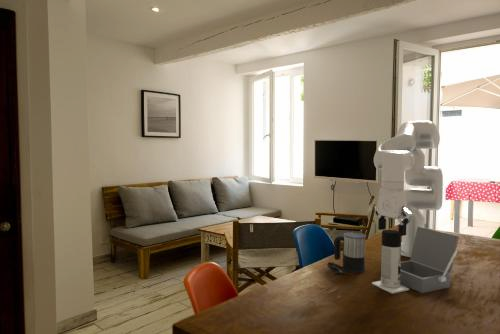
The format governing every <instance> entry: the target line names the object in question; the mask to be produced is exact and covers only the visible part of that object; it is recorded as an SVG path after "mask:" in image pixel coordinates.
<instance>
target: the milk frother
mask: <svg viewBox="0 0 500 334" xmlns="http://www.w3.org/2000/svg"><path fill="white" fill-rule="evenodd" d="M366 238H367V235H366V234H364V233H360V232H351V231H350V232H344V233H343V234H342V235H338V236H336V237H335V238H334V240H333V250H334V251H333V256H334V257H333V258H334V260H336V261H338V260H340V259H341V255H342V265H339V264H338V263H335V262H331V261H329V262H328V263H327V268H328V269H329V270H330V271H331V272H332V273H334V274H335V275H343V274H345V272H347V273H349V272H350V273H355V274H356V273H357V274H359V273H361V274H362V273H364V272H365V271H366V269H365V267H366V265H365V264H366V263H365V261H366V260H365V259H366V258H365V257H366V240H367V239H366ZM341 241H343V246H342V247H343V250H342V254H341Z"/></svg>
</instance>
